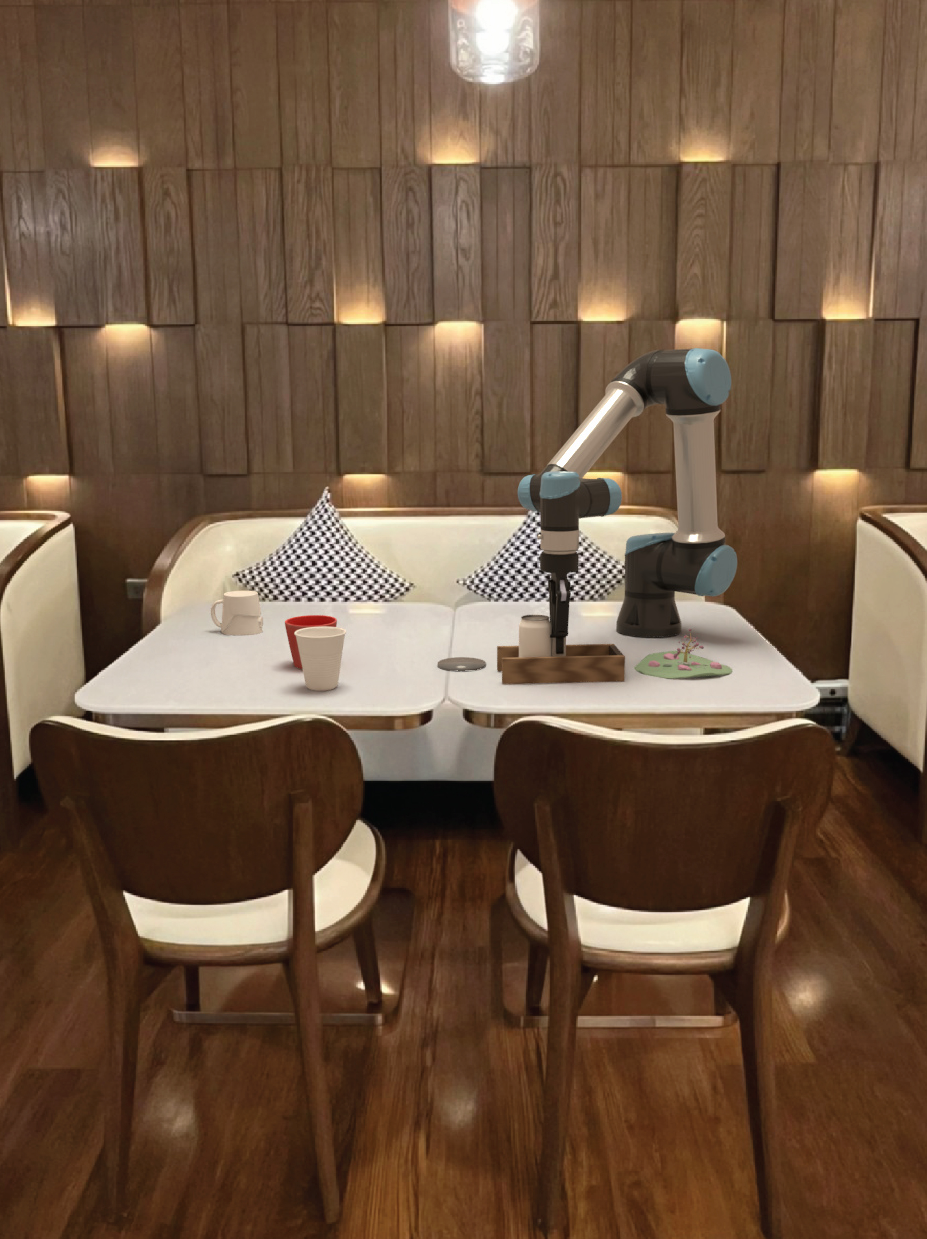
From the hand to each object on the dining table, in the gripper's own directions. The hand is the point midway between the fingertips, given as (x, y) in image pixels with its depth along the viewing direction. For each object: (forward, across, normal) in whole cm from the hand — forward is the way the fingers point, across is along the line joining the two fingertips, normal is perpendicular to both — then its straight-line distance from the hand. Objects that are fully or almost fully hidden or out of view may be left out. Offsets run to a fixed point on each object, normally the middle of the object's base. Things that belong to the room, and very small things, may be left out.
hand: (558, 668), depth 230 cm
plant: (+3, -7, +26) cm, 27 cm away
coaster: (+2, -10, -19) cm, 21 cm away
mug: (+1, -49, -69) cm, 85 cm away
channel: (+2, 0, 0) cm, 2 cm away
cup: (+2, +4, -47) cm, 47 cm away
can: (+2, 0, -5) cm, 5 cm away
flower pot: (+2, -14, -50) cm, 52 cm away
